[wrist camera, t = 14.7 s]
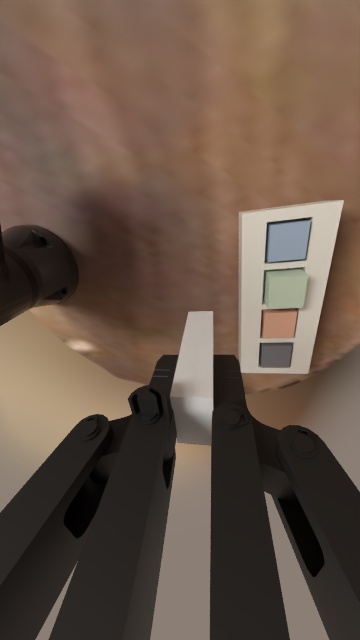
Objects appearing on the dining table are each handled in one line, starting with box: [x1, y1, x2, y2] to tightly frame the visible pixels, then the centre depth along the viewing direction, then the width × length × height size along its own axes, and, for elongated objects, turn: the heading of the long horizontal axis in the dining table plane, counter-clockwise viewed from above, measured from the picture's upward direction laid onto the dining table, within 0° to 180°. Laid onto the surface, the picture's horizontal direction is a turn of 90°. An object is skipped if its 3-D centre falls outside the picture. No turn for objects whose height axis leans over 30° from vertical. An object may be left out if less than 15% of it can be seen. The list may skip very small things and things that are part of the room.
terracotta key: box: [260, 308, 297, 338], centre depth 36 cm, size 5×5×3 cm
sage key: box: [264, 269, 308, 309], centre depth 31 cm, size 5×5×3 cm
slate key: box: [265, 219, 311, 262], centre depth 30 cm, size 5×5×3 cm
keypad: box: [238, 200, 344, 374], centre depth 36 cm, size 12×28×5 cm, turn 7°
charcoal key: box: [259, 342, 292, 368], centre depth 39 cm, size 5×5×3 cm
